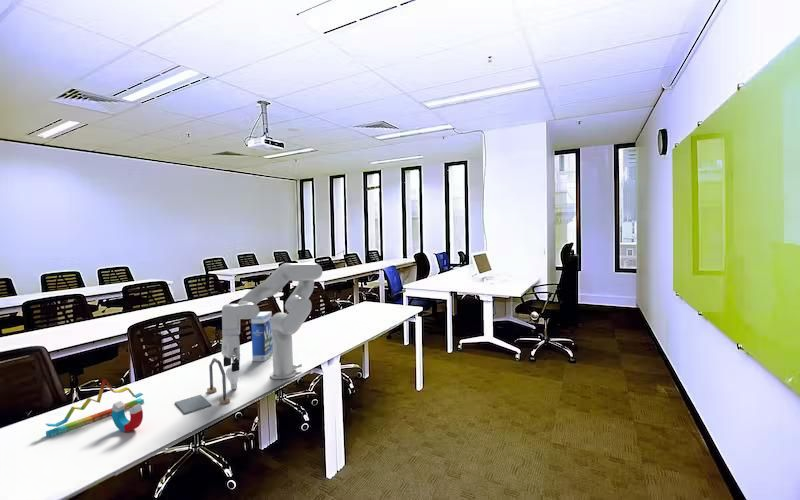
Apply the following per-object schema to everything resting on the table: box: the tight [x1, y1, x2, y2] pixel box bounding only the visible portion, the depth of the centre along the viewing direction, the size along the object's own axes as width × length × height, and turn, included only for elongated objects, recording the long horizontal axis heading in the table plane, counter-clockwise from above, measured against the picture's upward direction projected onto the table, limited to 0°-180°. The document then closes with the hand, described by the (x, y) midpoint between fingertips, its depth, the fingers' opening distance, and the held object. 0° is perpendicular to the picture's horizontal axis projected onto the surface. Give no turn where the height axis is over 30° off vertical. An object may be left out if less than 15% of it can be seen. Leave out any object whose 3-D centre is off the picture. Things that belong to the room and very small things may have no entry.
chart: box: [45, 378, 145, 439], centre depth 144 cm, size 30×3×15 cm, turn 149°
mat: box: [174, 394, 212, 415], centre depth 154 cm, size 10×14×1 cm
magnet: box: [111, 400, 144, 433], centre depth 134 cm, size 12×3×10 cm, turn 74°
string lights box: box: [250, 311, 273, 362], centre depth 213 cm, size 13×8×26 cm, turn 179°
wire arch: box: [206, 357, 231, 405], centre depth 161 cm, size 3×19×17 cm, turn 45°
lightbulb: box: [225, 365, 242, 390], centre depth 169 cm, size 6×6×11 cm
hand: (231, 368), depth 168 cm, fingers open, 9 cm apart
